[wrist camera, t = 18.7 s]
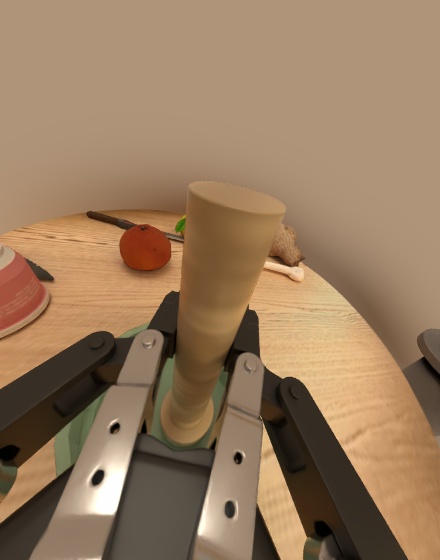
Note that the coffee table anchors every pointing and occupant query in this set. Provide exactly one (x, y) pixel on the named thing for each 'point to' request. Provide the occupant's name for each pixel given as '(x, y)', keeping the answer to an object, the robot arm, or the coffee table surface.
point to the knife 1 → (39, 271)
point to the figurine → (286, 246)
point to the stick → (214, 295)
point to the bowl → (79, 428)
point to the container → (18, 292)
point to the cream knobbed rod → (286, 270)
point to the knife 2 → (124, 223)
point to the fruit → (145, 248)
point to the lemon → (181, 225)
